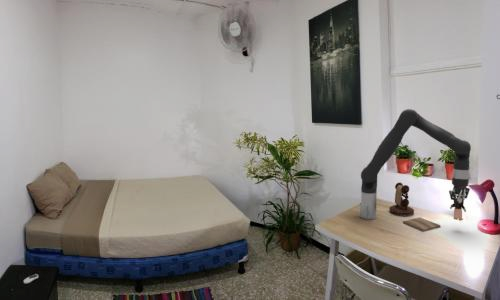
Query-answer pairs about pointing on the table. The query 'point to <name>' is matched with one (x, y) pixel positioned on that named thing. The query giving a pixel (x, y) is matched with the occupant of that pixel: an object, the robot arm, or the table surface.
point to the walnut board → (421, 224)
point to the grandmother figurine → (458, 210)
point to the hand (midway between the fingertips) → (458, 206)
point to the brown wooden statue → (401, 201)
